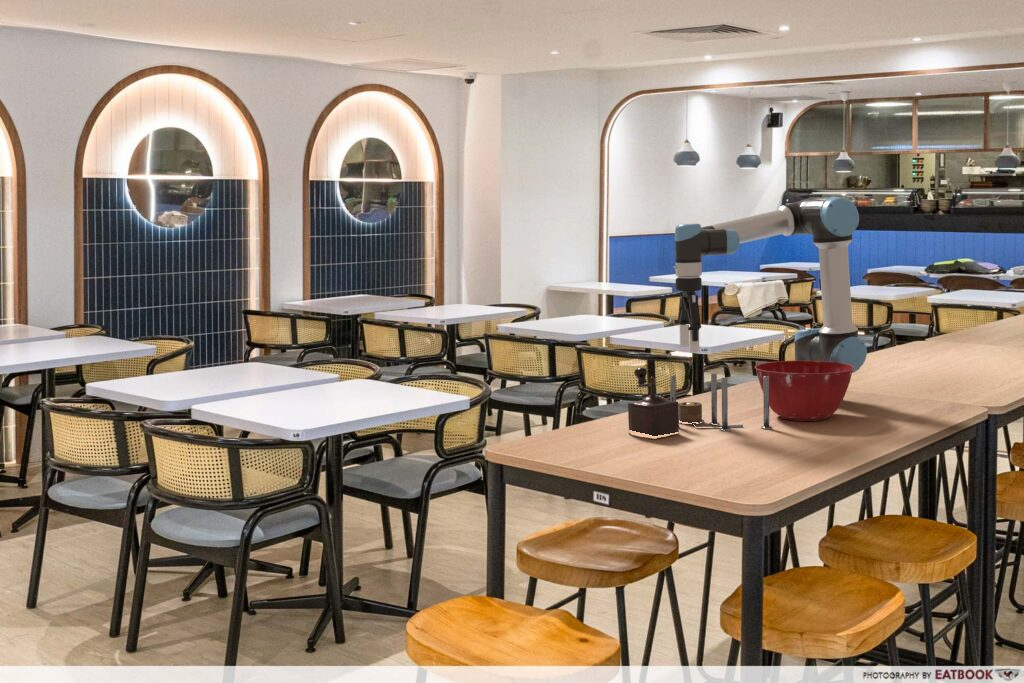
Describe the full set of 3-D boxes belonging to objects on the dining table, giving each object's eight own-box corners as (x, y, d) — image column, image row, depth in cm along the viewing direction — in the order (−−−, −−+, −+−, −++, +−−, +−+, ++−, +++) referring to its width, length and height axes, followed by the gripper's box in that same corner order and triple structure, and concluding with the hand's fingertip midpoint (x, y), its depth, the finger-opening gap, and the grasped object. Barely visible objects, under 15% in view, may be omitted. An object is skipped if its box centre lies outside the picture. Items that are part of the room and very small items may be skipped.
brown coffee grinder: (681, 434, 323) (680, 370, 320) (654, 440, 316) (653, 375, 313) (642, 426, 335) (640, 365, 332) (614, 432, 328) (613, 370, 325)
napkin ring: (677, 418, 342) (677, 402, 341) (698, 418, 342) (698, 401, 341) (681, 423, 335) (681, 406, 335) (703, 422, 336) (703, 405, 335)
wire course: (667, 425, 335) (666, 374, 333) (762, 421, 336) (761, 370, 334) (675, 433, 323) (674, 381, 322) (773, 429, 325) (773, 376, 323)
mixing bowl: (767, 406, 360) (767, 357, 358) (861, 411, 347) (861, 360, 345) (744, 423, 335) (744, 371, 333) (844, 429, 322) (844, 374, 320)
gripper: (667, 274, 345) (668, 344, 348) (684, 280, 321) (685, 355, 323) (692, 273, 346) (692, 343, 349) (711, 279, 321) (712, 354, 324)
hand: (689, 349), depth 336 cm, fingers open, 13 cm apart
